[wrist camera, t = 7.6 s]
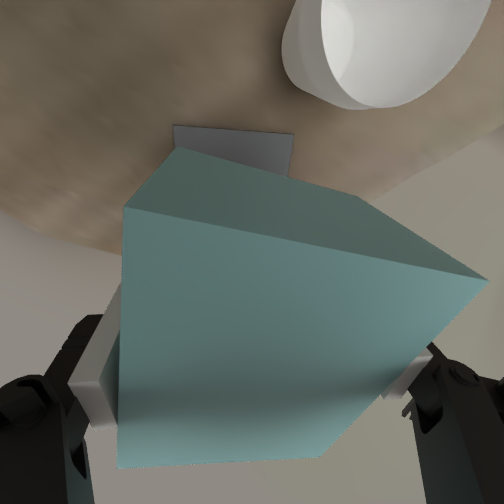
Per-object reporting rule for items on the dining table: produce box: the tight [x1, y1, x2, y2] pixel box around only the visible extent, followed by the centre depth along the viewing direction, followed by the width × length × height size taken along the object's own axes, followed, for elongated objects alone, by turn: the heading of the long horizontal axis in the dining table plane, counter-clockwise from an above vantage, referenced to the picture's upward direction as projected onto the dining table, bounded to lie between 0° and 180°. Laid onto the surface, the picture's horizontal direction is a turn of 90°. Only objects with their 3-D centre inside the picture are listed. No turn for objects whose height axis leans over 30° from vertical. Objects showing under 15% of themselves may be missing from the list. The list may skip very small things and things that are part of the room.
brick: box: [117, 146, 489, 469], centre depth 11 cm, size 9×11×7 cm
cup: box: [282, 0, 492, 110], centre depth 16 cm, size 9×9×12 cm
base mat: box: [173, 125, 294, 177], centre depth 27 cm, size 12×12×1 cm
